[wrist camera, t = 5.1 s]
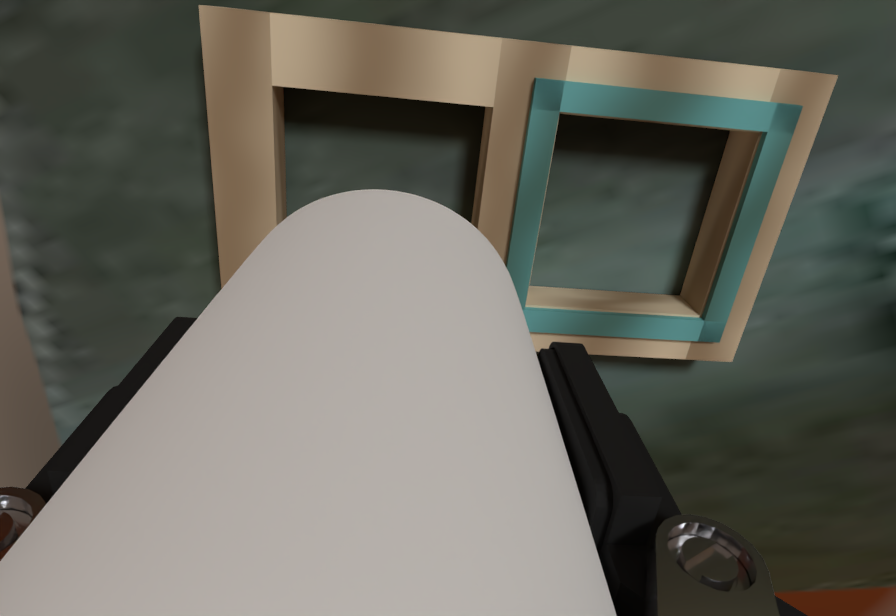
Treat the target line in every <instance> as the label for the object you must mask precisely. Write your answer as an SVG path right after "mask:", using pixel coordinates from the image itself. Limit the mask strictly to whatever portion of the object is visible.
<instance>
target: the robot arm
mask: <svg viewBox="0 0 896 616" xmlns="http://www.w3.org/2000/svg"><path fill="white" fill-rule="evenodd" d="M196 320H197V318H187V317H176V318H175V319H174V320H173V321H172V322H171V323H170V324H169V326H168V327H167V328H166V329H165V330H164V332H163V333H162V334H161V335H160V336H159V338H158V339H157V340H156V341H155V342H154V344H153V345H152V346H151V347H150V348H149V350H148V351H147V352H146V353H145V354H144V356H143V357H142V358H141V359H140V360H139V361H138V363H137V364H136V365H135V366H134V367H133V369H132V370H131V371H130V372H129V373H128V375H127V376H126V377H125V378H124V379H123V381H122V382H121V383H120V384H119V385H118V386H115V387H113V388H112V389H110V390H109V391H108V392H107V393H106V394H105V396H104V397H103V398H102V399H101V400H100V401H99V403H98V404H97V405H96V406H95V407H94V408H93V410H92V411H91V412H90V413H89V414H88V416H87V417H86V418H85V419H84V420H83V421H82V423H81V424H80V425H79V426H78V427H77V428H76V430H75V431H74V432H73V433H72V434H71V435H70V437H69V438H68V439H67V440H66V441H65V443H64V444H63V445H62V446H61V447H60V448H59V450H58V451H57V452H56V453H55V454H54V455H53V457H52V458H51V459H50V460H49V461H48V463H47V464H46V465H45V466H44V467H43V468H42V469H41V471H40V472H39V473H38V474H37V475H36V477H35V478H34V479H33V480H32V481H31V482H30V484H29V485H28V486H27V487H26V488H25V489H24V488H17V487H1V488H0V561H1V560H2V558H3V557H4V556H5V555H6V553H7V552H8V551H9V550H10V549H11V547H12V546H13V545H14V544H15V542H16V541H17V540H18V539H19V537H20V536H21V535H22V534H23V532H24V531H25V530H26V529H27V528H28V526H29V525H30V524H31V523H32V521H33V520H34V519H35V518H36V516H37V515H38V514H39V513H40V511H41V510H42V509H43V508H44V507H45V505H46V504H47V503H48V502H49V500H50V499H51V498H52V497H53V495H54V494H55V493H56V492H57V490H58V489H59V488H60V487H61V485H62V484H63V483H64V482H65V481H66V479H67V478H68V477H69V476H70V474H71V473H72V472H73V471H74V469H75V468H76V467H77V466H78V464H79V463H80V462H81V461H82V460H83V458H84V457H85V456H86V455H87V453H88V452H89V451H90V450H91V448H92V447H93V446H94V445H95V443H96V442H97V441H98V440H99V439H100V437H101V436H102V435H103V434H104V432H105V431H106V430H107V429H108V427H109V426H110V425H111V424H112V423H113V421H114V420H115V419H116V418H117V416H118V415H119V414H120V413H121V412H122V410H123V409H124V408H125V407H126V405H127V404H128V403H129V402H130V400H131V399H132V398H133V397H134V396H135V394H136V393H137V392H138V391H139V389H140V388H141V387H142V386H143V384H144V383H145V382H146V381H147V380H148V378H149V377H150V376H151V375H152V373H153V372H154V371H155V370H156V369H157V367H158V366H159V365H160V364H161V362H162V361H163V360H164V359H165V357H166V356H167V355H168V354H169V353H170V351H171V350H172V349H173V348H174V346H175V345H176V344H177V343H178V342H179V340H180V339H181V338H182V337H183V335H184V334H185V333H186V332H187V331H188V329H189V328H190V327H191V326H192V324H193V323H194V322H195V321H196ZM538 361H539V364H540V368H541V371H542V374H543V377H544V380H545V384H546V387H547V390H548V393H549V396H550V400H551V403H552V406H553V409H554V413H555V416H556V419H557V422H558V425H559V429H560V432H561V435H562V438H563V442H564V445H565V448H566V451H567V455H568V458H569V461H570V464H571V468H572V471H573V474H574V477H575V481H576V484H577V487H578V490H579V494H580V497H581V500H582V503H583V507H584V510H585V513H586V516H587V520H588V523H589V526H590V530H591V533H592V536H593V539H594V543H595V546H596V549H597V553H598V556H599V559H600V562H601V566H602V569H603V572H604V576H605V579H606V582H607V585H608V589H609V592H610V595H611V599H612V602H613V605H614V608H615V612H616V615H617V616H807V615H805V614H804V613H802V612H801V611H799V610H797V609H796V608H794V607H792V606H791V605H789V604H787V603H785V602H784V601H783V600H781V599H779V598H778V597H776V596H775V595H774V591H773V587H772V583H771V578H770V574H769V571H768V569H767V566H766V564H765V562H764V560H763V558H762V556H761V555H760V554H759V553H758V551H757V550H756V549H755V548H754V546H753V545H752V544H751V543H750V542H749V541H747V540H746V539H745V538H744V537H743V536H741V535H740V534H739V533H738V532H736V531H734V530H733V529H731V528H729V527H728V526H726V525H724V524H723V523H720V522H717V521H715V520H712V519H709V518H707V517H702V516H697V515H691V514H687V515H682V514H681V512H680V511H679V509H678V507H677V505H676V503H675V501H674V499H673V498H672V496H671V494H670V492H669V490H668V488H667V486H666V485H665V483H664V481H663V479H662V477H661V475H660V473H659V472H658V470H657V468H656V466H655V464H654V462H653V460H652V459H651V457H650V455H649V453H648V451H647V449H646V447H645V446H644V444H643V442H642V440H641V438H640V436H639V434H638V433H637V431H636V429H635V427H634V425H633V423H632V421H631V420H630V419H629V417H628V416H627V415H625V414H623V413H619V412H618V410H617V409H616V407H615V405H614V403H613V401H612V399H611V397H610V395H609V393H608V391H607V389H606V387H605V385H604V383H603V381H602V380H601V378H600V376H599V374H598V372H597V370H596V368H595V366H594V364H593V362H592V360H591V358H590V356H589V354H588V352H587V351H586V349H585V347H584V345H583V344H581V343H567V342H552V343H551V344H550V346H549V349H544V348H541V349H540V351H539V354H538Z"/></svg>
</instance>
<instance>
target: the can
mask: <svg viewBox="0 0 896 616" xmlns="http://www.w3.org/2000/svg"><path fill="white" fill-rule="evenodd" d="M0 616H617V615H616V612H615V608H614V605H613V602H612V599H611V595H610V592H609V589H608V585H607V582H606V579H605V576H604V572H603V569H602V566H601V562H600V559H599V556H598V553H597V549H596V546H595V543H594V539H593V536H592V533H591V530H590V526H589V523H588V520H587V516H586V513H585V510H584V507H583V503H582V500H581V497H580V494H579V490H578V487H577V484H576V481H575V477H574V474H573V471H572V468H571V464H570V461H569V458H568V455H567V451H566V448H565V445H564V442H563V438H562V435H561V432H560V429H559V425H558V422H557V419H556V416H555V413H554V409H553V406H552V403H551V400H550V396H549V393H548V390H547V387H546V384H545V380H544V377H543V374H542V371H541V368H540V364H539V361H538V358H537V355H536V351H535V348H534V345H533V342H532V339H531V336H530V332H529V329H528V326H527V323H526V320H525V317H524V314H523V310H522V307H521V304H520V301H519V298H518V295H517V292H516V290H515V287H514V284H513V282H512V279H511V276H510V274H509V272H508V270H507V268H506V266H505V264H504V262H503V261H502V259H501V257H500V256H499V254H498V252H497V251H496V250H495V248H494V247H493V246H492V244H491V243H490V242H489V241H488V240H487V238H486V237H485V236H484V235H483V234H482V233H481V232H480V231H479V230H478V229H477V228H476V227H474V226H473V225H472V224H471V223H470V222H468V221H467V220H466V219H464V218H463V217H462V216H460V215H459V214H457V213H455V212H454V211H452V210H450V209H449V208H447V207H445V206H443V205H441V204H439V203H436V202H434V201H432V200H429V199H426V198H423V197H420V196H417V195H413V194H409V193H404V192H399V191H391V190H376V189H371V190H356V191H349V192H343V193H339V194H335V195H331V196H328V197H325V198H322V199H319V200H317V201H314V202H312V203H310V204H308V205H306V206H304V207H302V208H301V209H299V210H297V211H296V212H294V213H293V214H291V215H290V216H288V217H287V218H286V219H284V220H283V221H282V222H281V223H280V224H278V225H277V226H276V227H275V228H274V229H273V230H272V231H271V232H270V233H269V234H268V235H267V236H266V237H265V238H264V239H263V240H262V242H261V243H260V244H259V245H258V246H257V247H256V248H255V250H254V251H253V252H252V253H251V254H250V256H249V257H248V258H247V259H246V260H245V261H244V263H243V264H242V265H241V266H240V267H239V269H238V270H237V271H236V272H235V273H234V275H233V276H232V277H231V278H230V280H229V281H228V282H227V283H226V284H225V286H224V287H223V288H222V289H221V290H220V292H219V293H218V294H217V295H216V296H215V298H214V299H213V300H212V301H211V303H210V304H209V305H208V306H207V307H206V309H205V310H204V311H203V312H202V314H201V315H200V316H199V317H198V318H197V320H196V321H195V322H194V323H193V324H192V326H191V327H190V328H189V329H188V331H187V332H186V333H185V334H184V335H183V337H182V338H181V339H180V340H179V342H178V343H177V344H176V345H175V346H174V348H173V349H172V350H171V351H170V353H169V354H168V355H167V356H166V357H165V359H164V360H163V361H162V362H161V364H160V365H159V366H158V367H157V369H156V370H155V371H154V372H153V373H152V375H151V376H150V377H149V378H148V380H147V381H146V382H145V383H144V384H143V386H142V387H141V388H140V389H139V391H138V392H137V393H136V394H135V396H134V397H133V398H132V399H131V400H130V402H129V403H128V404H127V405H126V407H125V408H124V409H123V410H122V412H121V413H120V414H119V415H118V416H117V418H116V419H115V420H114V421H113V423H112V424H111V425H110V426H109V427H108V429H107V430H106V431H105V432H104V434H103V435H102V436H101V437H100V439H99V440H98V441H97V442H96V443H95V445H94V446H93V447H92V448H91V450H90V451H89V452H88V453H87V455H86V456H85V457H84V458H83V460H82V461H81V462H80V463H79V464H78V466H77V467H76V468H75V469H74V471H73V472H72V473H71V474H70V476H69V477H68V478H67V479H66V481H65V482H64V483H63V484H62V485H61V487H60V488H59V489H58V490H57V492H56V493H55V494H54V495H53V497H52V498H51V499H50V500H49V502H48V503H47V504H46V505H45V507H44V508H43V509H42V510H41V511H40V513H39V514H38V515H37V516H36V518H35V519H34V520H33V521H32V523H31V524H30V525H29V526H28V528H27V529H26V530H25V531H24V532H23V534H22V535H21V536H20V537H19V539H18V540H17V541H16V542H15V544H14V545H13V546H12V547H11V549H10V550H9V551H8V552H7V553H6V555H5V556H4V557H3V558H2V560H1V561H0Z"/></svg>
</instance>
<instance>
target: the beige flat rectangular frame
mask: <svg viewBox="0 0 896 616" xmlns="http://www.w3.org/2000/svg"><path fill="white" fill-rule="evenodd" d="M199 16H200V28H201V41H202V53H203V65H204V78H205V90H206V103H207V115H208V127H209V140H210V152H211V165H212V177H213V189H214V202H215V214H216V227H217V239H218V251H219V264H220V276H221V289H222V288H223V287H224V286H225V284H226V283H227V282H228V281H229V280H230V278H231V277H232V276H233V275H234V273H235V272H236V271H237V270H238V269H239V267H240V266H241V265H242V264H243V263H244V261H245V260H246V259H247V258H248V257H249V256H250V254H251V253H252V252H253V251H254V250H255V248H256V247H257V246H258V245H259V244H260V243H261V242H262V240H263V239H264V238H265V237H266V236H267V235H268V234H269V233H270V232H271V231H272V230H273V229H274V228H275V227H276V226H277V225H278V224H280V223H281V222H282V221H283V220H284V219H286V218H287V212H286V171H285V131H284V90H283V87H291V88H302V89H312V90H322V91H332V92H343V93H353V94H363V95H373V96H384V97H394V98H404V99H414V100H425V101H435V102H445V103H456V104H466V105H476V106H485V115H484V123H483V131H482V139H481V147H480V155H479V164H478V172H477V180H476V188H475V196H474V204H473V213H472V221H471V224H472V225H473V226H474V227H476V228H477V229H478V230H479V231H480V232H481V233H482V234H483V235H484V236H485V237H486V238H487V240H488V241H489V242H490V243H491V244H492V246H493V247H494V248H495V250H496V251H497V252H498V254H499V256H500V257H501V259H502V261H503V262H504V264H505V266H506V268H507V270H508V272H509V274H510V276H511V279H512V282H513V284H514V287H515V290H516V292H517V295H518V298H519V301H520V304H521V307H522V310H523V314H524V317H525V320H526V323H527V326H528V329H529V332H530V336H531V339H532V342H533V345H534V348H535V351H536V352H539V351H540V349H541V348H544V349H549V346H550V344H551V343H552V342H567V343H581V344H583V345H584V347H585V349H586V351H587V352H588V354H592V355H611V356H630V357H649V358H668V359H687V360H705V361H724V362H732V360H733V358H734V355H735V352H736V350H737V347H738V344H739V342H740V339H741V336H742V333H743V331H744V328H745V325H746V323H747V320H748V317H749V315H750V312H751V309H752V307H753V304H754V301H755V298H756V296H757V293H758V290H759V288H760V285H761V282H762V280H763V277H764V274H765V271H766V269H767V266H768V263H769V261H770V258H771V255H772V253H773V250H774V247H775V244H776V242H777V239H778V236H779V234H780V231H781V228H782V226H783V223H784V220H785V218H786V215H787V212H788V209H789V207H790V204H791V201H792V199H793V196H794V193H795V191H796V188H797V185H798V182H799V180H800V177H801V174H802V172H803V169H804V166H805V164H806V161H807V158H808V156H809V153H810V150H811V147H812V145H813V142H814V139H815V137H816V134H817V131H818V129H819V126H820V123H821V120H822V118H823V115H824V112H825V110H826V107H827V104H828V102H829V99H830V96H831V93H832V91H833V88H834V85H835V83H836V80H837V77H838V75H830V74H823V73H815V72H807V71H798V70H789V69H780V68H771V67H762V66H753V65H744V64H735V63H725V62H716V61H707V60H698V59H689V58H680V57H671V56H662V55H653V54H644V53H635V52H626V51H617V50H608V49H599V48H589V47H580V46H571V45H562V44H553V43H544V42H535V41H526V40H517V39H508V38H499V37H490V36H481V35H472V34H462V33H453V32H444V31H435V30H426V29H417V28H408V27H399V26H390V25H381V24H372V23H363V22H354V21H345V20H335V19H326V18H317V17H308V16H299V15H290V14H281V13H272V12H263V11H254V10H245V9H236V8H227V7H218V6H205V5H199ZM560 114H569V115H579V116H589V117H599V118H610V119H620V120H630V121H640V122H651V123H661V124H671V125H681V126H692V127H702V128H712V129H723V130H730V133H729V137H728V140H727V143H726V146H725V150H724V153H723V156H722V159H721V163H720V166H719V169H718V173H717V176H716V179H715V182H714V186H713V189H712V192H711V195H710V199H709V202H708V205H707V208H706V212H705V215H704V218H703V222H702V225H701V228H700V231H699V235H698V238H697V241H696V244H695V248H694V251H693V254H692V258H691V261H690V264H689V267H688V271H687V274H686V277H685V280H684V284H683V287H682V290H681V293H680V296H679V295H663V294H648V293H633V292H617V291H602V290H587V289H571V288H556V287H541V286H529V284H530V279H531V273H532V267H533V262H534V256H535V250H536V245H537V239H538V234H539V228H540V222H541V217H542V211H543V205H544V200H545V194H546V188H547V183H548V177H549V172H550V166H551V160H552V155H553V149H554V143H555V138H556V132H557V126H558V121H559V115H560Z"/></svg>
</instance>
